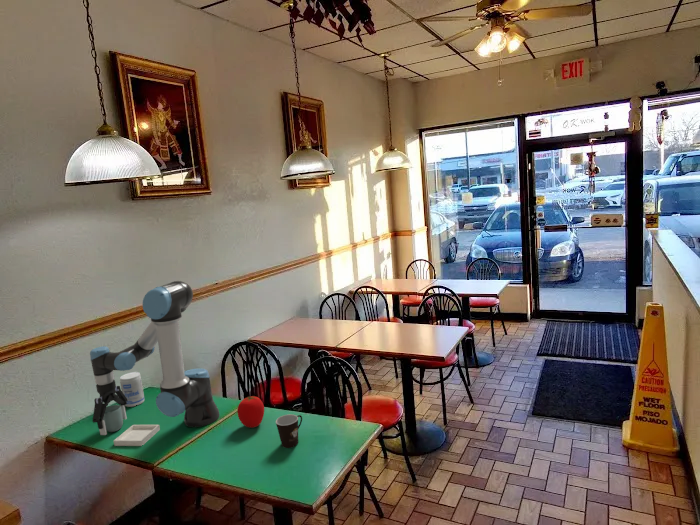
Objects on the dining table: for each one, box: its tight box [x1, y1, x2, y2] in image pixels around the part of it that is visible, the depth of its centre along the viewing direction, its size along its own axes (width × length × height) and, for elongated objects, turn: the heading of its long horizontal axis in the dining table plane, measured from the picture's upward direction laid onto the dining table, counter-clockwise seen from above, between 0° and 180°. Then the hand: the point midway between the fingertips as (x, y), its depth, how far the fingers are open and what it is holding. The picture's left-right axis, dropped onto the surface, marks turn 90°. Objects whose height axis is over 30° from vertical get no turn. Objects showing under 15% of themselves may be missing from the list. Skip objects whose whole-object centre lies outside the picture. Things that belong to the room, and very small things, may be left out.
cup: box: [103, 404, 124, 433], centre depth 214 cm, size 8×8×10 cm
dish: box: [113, 424, 161, 447], centre depth 205 cm, size 13×13×2 cm
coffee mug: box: [275, 413, 303, 449], centre depth 187 cm, size 12×9×10 cm
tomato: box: [236, 395, 265, 429], centre depth 203 cm, size 11×11×13 cm
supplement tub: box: [119, 371, 145, 408], centre depth 240 cm, size 10×10×15 cm
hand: (114, 426), depth 214 cm, fingers open, 13 cm apart
